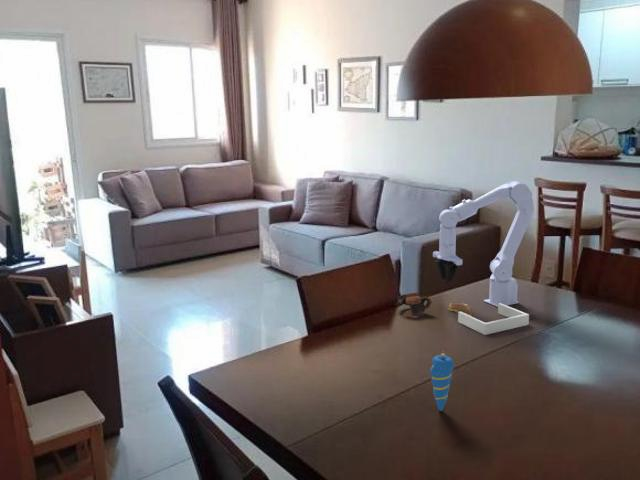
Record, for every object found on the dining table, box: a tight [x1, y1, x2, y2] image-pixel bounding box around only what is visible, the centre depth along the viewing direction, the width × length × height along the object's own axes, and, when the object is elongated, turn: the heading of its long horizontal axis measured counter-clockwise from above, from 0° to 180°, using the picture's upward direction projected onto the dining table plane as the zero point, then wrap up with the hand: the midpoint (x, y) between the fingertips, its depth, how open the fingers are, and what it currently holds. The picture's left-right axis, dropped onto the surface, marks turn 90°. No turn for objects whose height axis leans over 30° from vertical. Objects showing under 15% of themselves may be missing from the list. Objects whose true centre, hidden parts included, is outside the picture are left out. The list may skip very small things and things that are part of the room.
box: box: [457, 303, 530, 336], centre depth 186 cm, size 18×13×4 cm
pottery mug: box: [395, 292, 432, 318], centre depth 198 cm, size 12×10×8 cm
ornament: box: [429, 350, 455, 412], centre depth 131 cm, size 5×5×15 cm
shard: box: [447, 302, 473, 317], centre depth 198 cm, size 11×8×2 cm
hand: (446, 280), depth 206 cm, fingers open, 3 cm apart
